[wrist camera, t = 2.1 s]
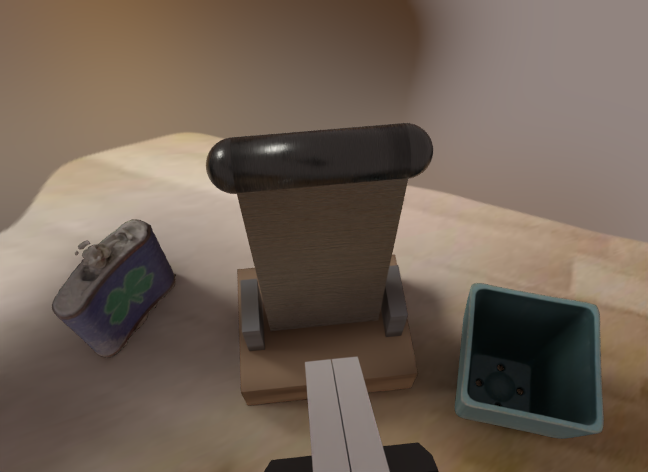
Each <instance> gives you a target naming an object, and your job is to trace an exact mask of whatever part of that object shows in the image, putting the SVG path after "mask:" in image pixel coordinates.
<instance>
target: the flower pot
mask: <svg viewBox="0 0 648 472" xmlns="http://www.w3.org/2000/svg"><path fill="white" fill-rule="evenodd" d="M600 346H601V345H600V314H599V310H598V308H597V306H596V305H594V304H590V303H586V302H580V301H575V300H569V299H563V298H557V297H551V296H545V295H539V294H534V293H528V292H523V291H517V290H512V289H507V288H502V287H497V286H492V285H488V284H482V283H476V284H473V285H472V286H471V288H470V292H469V296H468V300H467V304H466V309H465V313H464V318H463V327H462V338H461V349H460V360H459V370H458V381H457V391H456V400H455V412H456V414H457V415H458V416H459V417H461V418H464V419H469V420H474V421H479V422H484V423H488V424H493V425H498V426H503V427H507V428H512V429H517V430H521V431H526V432H531V433H535V434H539V435H544V436H548V437H553V438H561V439H563V438H572V437H579V436H584V435H591V434H597V433H600V432H601V431H602V429H603V422H604V420H603V418H604V416H603V400H602V399H603V398H602V384H601V383H602V381H601V352H600ZM498 365H502V366H503V368H504V369H503V371H499V370H498V369H497V366H498ZM477 380H480V381H481V382H482V385H481V386H477V385H476V381H477ZM518 388H521V389H522V390H523V394H522V395H519V394H518V393H517V389H518ZM496 404H500V405H501V406H496Z"/></svg>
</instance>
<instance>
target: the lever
mask: <svg viewBox="0 0 648 472" xmlns="http://www.w3.org/2000/svg"><path fill="white" fill-rule="evenodd" d="M432 156H433V145H432V141H431V139H430V137H429V135H428V134H427V133H426V132H425V130H423V129H422V128H421V127H419V126H417V125H415V124H410V123H401V124H389V125H376V126H365V127H352V128H340V129H328V130H317V131H304V132H292V133H281V134H268V135H257V136H244V137H232V138H226V139H224V140H221V141H219V142H218V143H216V144H215V145H214V146H213V147H212V149H211V150H210V152H209V154H208V156H207V161H206V170H207V174H208V176H209V179H210V180H211V182H212V183H213V184H214V185H215V186H216V187H217V188H218V189H220V190H221V191H224V192H226V193H230V194H237V196H238V200H239V204H240V208H241V212H242V216H243V221H244V225H245V229H246V233H247V237H248V241H249V245H250V249H251V253H252V257H253V262H254V266H255V270H256V274H257V278H258V282H259V286H260V290H261V294H262V298H263V302H264V307H265V311H266V315H267V319H268V323H269V327H270V331H277V330H287V329H297V328H307V327H317V326H327V325H337V324H346V323H356V322H366V321H376V320H378V318H379V314H380V309H381V304H382V299H383V295H384V290H385V285H386V281H387V276H388V271H389V266H390V262H391V257H392V252H393V248H394V243H395V238H396V234H397V229H398V224H399V219H400V215H401V210H402V205H403V201H404V196H405V191H406V187H407V181H408V179H409V178H413V177H416V176H418V175H420V174H421V173H423V172H424V171H425V170H426V169H427V167H428V165H429V164H430V162H431V159H432Z"/></svg>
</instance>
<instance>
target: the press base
mask: <svg viewBox="0 0 648 472" xmlns="http://www.w3.org/2000/svg"><path fill="white" fill-rule="evenodd" d="M237 274H238V309H239V344H240V379H241V393H242V395H243V397H244V399H245V401H246V403H247V405H257V404H266V403H276V402H285V401H294V400H304V399H308V397H307V383H306V370H305V362H309V361H319V360H329V359H331V363H332V359H338V358H348V357H358V360H359V363H360V367H361V370H362V374H363V378H364V381H365V385H366V388H367V392H368V393H369V392H378V391H388V390H397V389H406V388H411V387H412V384H413V382H414V380H415V378H416V376H417V374H418V371H417V366H416V361H415V356H414V351H413V346H412V340H411V335H410V330H409V325H408V320H407V317H408V313H407V308H406V303H405V298H404V292H403V287H402V282H401V277H400V272H399V267H398V265H397V263H396V258H395V255H392V257H391V262H390V266H389V271H388V276H387V281H386V285H385V290H384V295H383V299H382V304H381V309H380V314H379V318H378V320H376V321H366V322H356V323H346V324H337V325H327V326H317V327H307V328H297V329H287V330H277V331H270V327H269V323H268V319H267V315H266V311H265V307H264V302H263V298H262V294H261V290H260V286H259V282H258V278H257V274H256V270H255V268H248V269H237ZM332 369H333V367H332Z"/></svg>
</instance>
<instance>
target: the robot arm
mask: <svg viewBox="0 0 648 472" xmlns="http://www.w3.org/2000/svg"><path fill="white" fill-rule="evenodd" d="M332 367H333V369H332ZM305 370H306V383H307V397H308V410H309V424H310V437H311V451H312V456H305V457H296V458H287V459H278V460H271V461H270V463H269V465H268V466H267V468H266V469H265V471H264V472H438V469H437V466H436V464H435V461H434V459H433V456H432V455H431V454H430V453H429V452H428V451H427V450H426V449H425V448H424V447H423V446H421V445H420V444H419V443H409V444H400V445H391V446H382V442H381V439H380V435H379V432H378V428H377V424H376V421H375V417H374V414H373V410H372V406H371V403H370V399H369V396H368V392H367V388H366V385H365V381H364V378H363V374H362V370H361V367H360V363H359V360H358V357H348V358H338V359H332V363H331V359H329V360H319V361H309V362H305Z"/></svg>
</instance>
